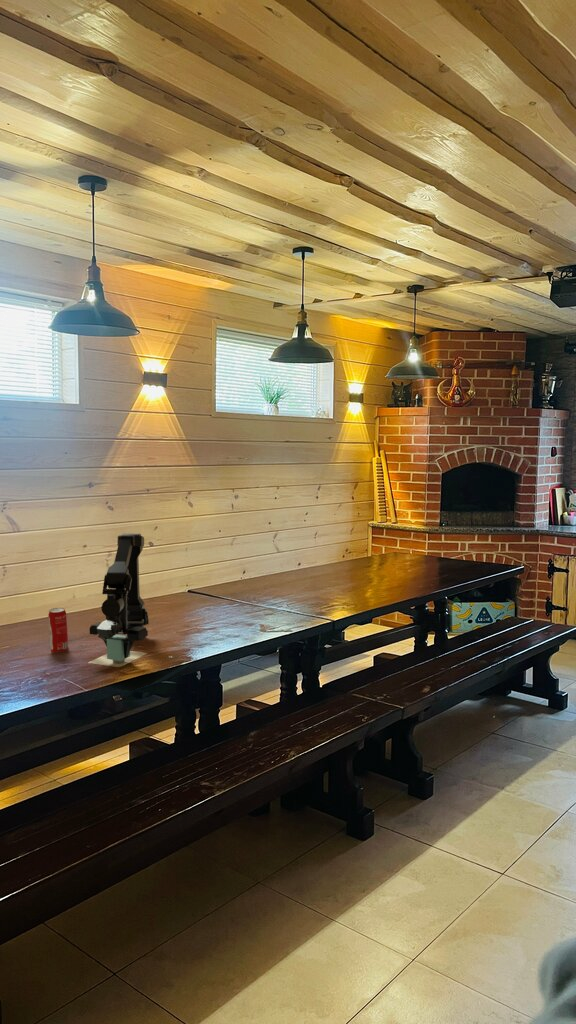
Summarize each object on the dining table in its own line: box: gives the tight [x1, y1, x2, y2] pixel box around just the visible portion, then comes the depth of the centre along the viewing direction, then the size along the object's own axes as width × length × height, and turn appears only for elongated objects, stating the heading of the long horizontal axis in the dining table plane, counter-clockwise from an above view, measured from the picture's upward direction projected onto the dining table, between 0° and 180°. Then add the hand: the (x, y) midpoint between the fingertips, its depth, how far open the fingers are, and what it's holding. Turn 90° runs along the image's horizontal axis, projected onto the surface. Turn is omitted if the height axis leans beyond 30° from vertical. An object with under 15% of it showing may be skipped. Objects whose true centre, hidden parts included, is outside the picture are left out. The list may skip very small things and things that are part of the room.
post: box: [113, 659, 125, 664], centre depth 229 cm, size 3×3×6 cm
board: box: [87, 650, 148, 668], centre depth 234 cm, size 16×12×1 cm
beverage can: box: [47, 607, 69, 654], centre depth 242 cm, size 6×6×15 cm
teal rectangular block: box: [106, 634, 130, 661], centre depth 229 cm, size 5×5×7 cm
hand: (118, 656), depth 229 cm, fingers closed on teal rectangular block, 5 cm apart
